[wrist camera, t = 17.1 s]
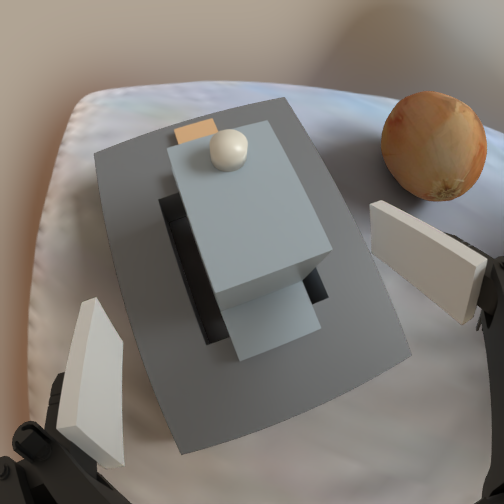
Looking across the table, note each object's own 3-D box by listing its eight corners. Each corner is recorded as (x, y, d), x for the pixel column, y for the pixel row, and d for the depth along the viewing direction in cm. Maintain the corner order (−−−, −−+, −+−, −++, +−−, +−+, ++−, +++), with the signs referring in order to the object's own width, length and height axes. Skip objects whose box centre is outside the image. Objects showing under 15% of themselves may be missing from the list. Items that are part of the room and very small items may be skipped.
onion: (382, 223, 25) (446, 162, 16) (353, 130, 28) (391, 56, 19) (460, 218, 26) (524, 171, 17) (428, 136, 29) (474, 78, 20)
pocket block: (385, 355, 22) (416, 355, 18) (189, 437, 19) (180, 458, 15) (278, 126, 28) (285, 92, 23) (109, 178, 25) (91, 149, 21)
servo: (302, 332, 22) (372, 314, 11) (238, 358, 21) (245, 370, 10) (239, 181, 26) (246, 69, 14) (181, 200, 25) (150, 93, 13)
